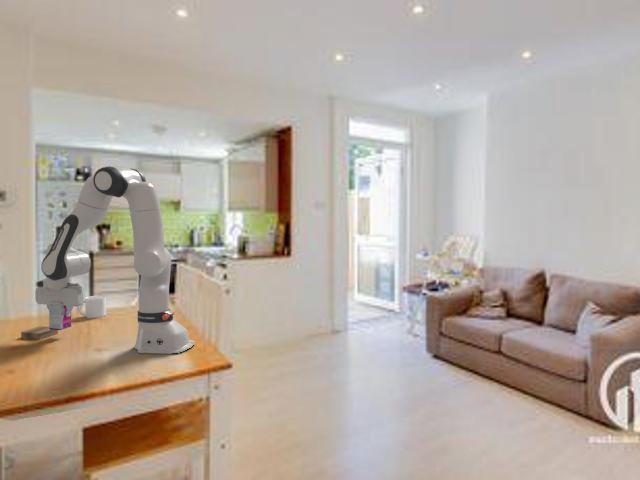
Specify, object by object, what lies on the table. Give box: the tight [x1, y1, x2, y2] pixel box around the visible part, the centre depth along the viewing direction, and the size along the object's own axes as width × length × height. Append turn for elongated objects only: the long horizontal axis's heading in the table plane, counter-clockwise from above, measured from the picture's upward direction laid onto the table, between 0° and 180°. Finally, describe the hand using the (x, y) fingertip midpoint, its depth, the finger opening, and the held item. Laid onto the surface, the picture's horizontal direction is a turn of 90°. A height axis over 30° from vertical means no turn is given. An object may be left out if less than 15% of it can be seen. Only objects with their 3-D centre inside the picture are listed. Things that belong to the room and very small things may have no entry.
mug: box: [78, 295, 107, 319], centre depth 212 cm, size 12×9×9 cm
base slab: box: [20, 325, 59, 340], centre depth 179 cm, size 9×9×2 cm
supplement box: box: [48, 301, 72, 331], centre depth 177 cm, size 6×6×12 cm
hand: (60, 315), depth 177 cm, fingers closed on supplement box, 6 cm apart
